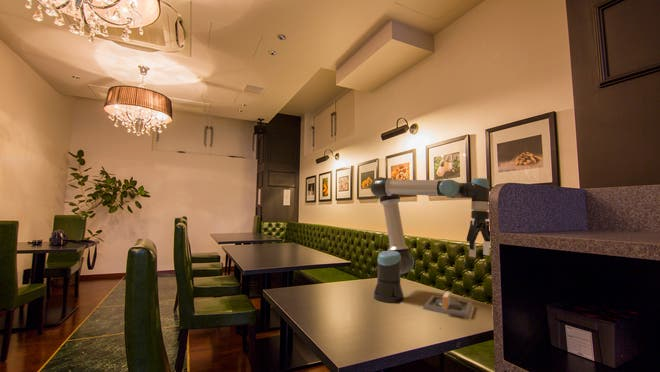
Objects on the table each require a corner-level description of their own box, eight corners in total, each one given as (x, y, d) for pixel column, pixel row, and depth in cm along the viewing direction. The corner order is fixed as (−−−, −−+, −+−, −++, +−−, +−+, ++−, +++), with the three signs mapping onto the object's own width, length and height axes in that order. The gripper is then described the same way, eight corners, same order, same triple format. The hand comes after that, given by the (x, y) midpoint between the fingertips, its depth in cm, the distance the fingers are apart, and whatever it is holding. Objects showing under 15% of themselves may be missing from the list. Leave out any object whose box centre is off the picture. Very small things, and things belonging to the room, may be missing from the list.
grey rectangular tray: (421, 311, 128) (421, 304, 129) (430, 301, 144) (430, 294, 144) (471, 321, 118) (471, 313, 119) (474, 309, 134) (474, 302, 134)
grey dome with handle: (438, 302, 139) (438, 286, 139) (462, 307, 133) (462, 290, 134) (431, 312, 124) (431, 295, 125) (458, 318, 119) (458, 299, 119)
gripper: (475, 210, 125) (474, 258, 124) (500, 211, 140) (499, 255, 139) (458, 209, 131) (458, 256, 130) (484, 211, 146) (483, 253, 145)
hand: (479, 255), depth 134 cm, fingers open, 13 cm apart
